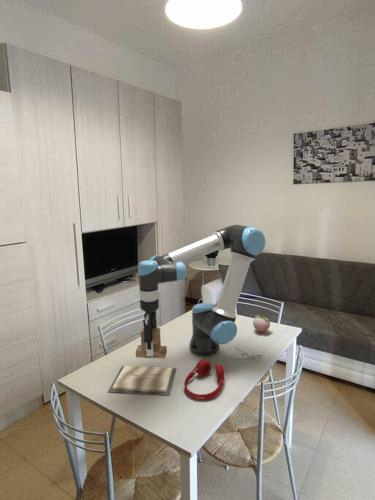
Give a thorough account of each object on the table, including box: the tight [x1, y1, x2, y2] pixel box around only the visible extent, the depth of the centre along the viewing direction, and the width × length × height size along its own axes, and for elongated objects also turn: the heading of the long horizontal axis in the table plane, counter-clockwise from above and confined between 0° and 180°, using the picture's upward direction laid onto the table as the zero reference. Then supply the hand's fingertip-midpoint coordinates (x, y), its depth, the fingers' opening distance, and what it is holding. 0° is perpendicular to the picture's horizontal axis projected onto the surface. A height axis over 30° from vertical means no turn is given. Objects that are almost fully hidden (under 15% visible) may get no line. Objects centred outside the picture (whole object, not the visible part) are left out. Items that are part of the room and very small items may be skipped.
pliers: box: [227, 346, 263, 361], centre depth 158 cm, size 10×2×15 cm
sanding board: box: [107, 365, 177, 397], centre depth 140 cm, size 25×19×2 cm
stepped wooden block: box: [135, 327, 168, 360], centre depth 136 cm, size 12×5×11 cm, turn 84°
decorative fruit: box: [252, 315, 271, 333], centre depth 181 cm, size 9×8×10 cm
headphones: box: [183, 359, 226, 401], centre depth 135 cm, size 15×7×20 cm
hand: (151, 351), depth 137 cm, fingers closed on stepped wooden block, 5 cm apart
